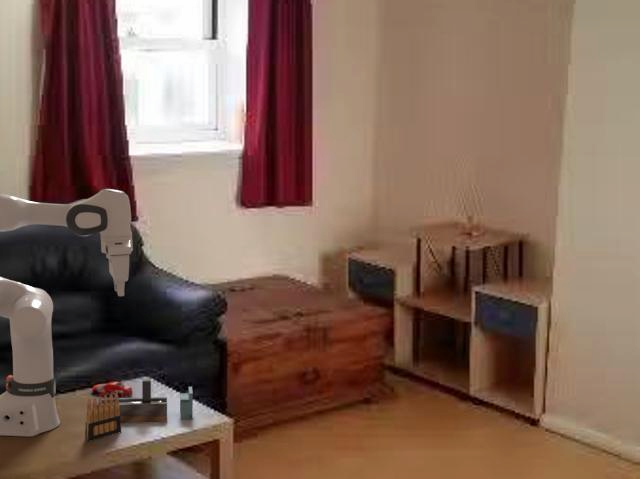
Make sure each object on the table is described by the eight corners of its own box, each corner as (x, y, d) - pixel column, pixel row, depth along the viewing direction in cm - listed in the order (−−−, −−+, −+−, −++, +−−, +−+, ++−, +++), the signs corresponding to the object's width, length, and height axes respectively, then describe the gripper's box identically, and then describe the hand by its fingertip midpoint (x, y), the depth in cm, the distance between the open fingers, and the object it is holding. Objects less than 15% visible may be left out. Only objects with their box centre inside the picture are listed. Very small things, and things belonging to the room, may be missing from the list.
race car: (88, 395, 311) (88, 383, 310) (97, 389, 316) (97, 378, 316) (126, 400, 308) (126, 387, 307) (134, 394, 313) (134, 382, 312)
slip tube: (107, 412, 290) (106, 382, 288) (107, 409, 292) (107, 379, 291) (161, 411, 293) (162, 381, 291) (161, 408, 295) (161, 378, 293)
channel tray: (90, 424, 286) (90, 408, 285) (92, 413, 295) (92, 397, 294) (167, 422, 290) (167, 406, 289) (166, 411, 298) (166, 395, 297)
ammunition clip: (88, 441, 274) (88, 400, 271) (85, 439, 275) (84, 398, 273) (121, 432, 281) (121, 392, 279) (117, 430, 282) (117, 390, 280)
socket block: (180, 419, 292) (180, 393, 291) (180, 412, 298) (180, 387, 297) (192, 418, 293) (192, 393, 291) (191, 411, 299) (191, 386, 297)
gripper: (102, 242, 289) (105, 289, 291) (108, 249, 270) (111, 299, 271) (124, 241, 291) (127, 287, 292) (131, 248, 272) (134, 297, 273)
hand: (119, 293), depth 282 cm, fingers open, 8 cm apart
